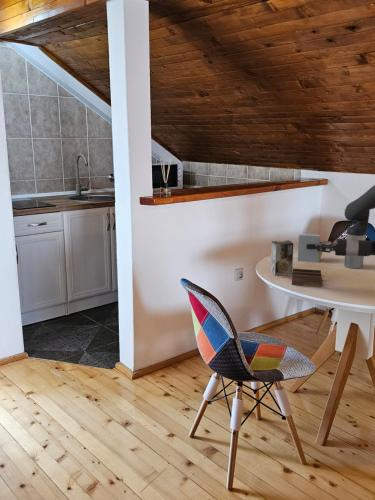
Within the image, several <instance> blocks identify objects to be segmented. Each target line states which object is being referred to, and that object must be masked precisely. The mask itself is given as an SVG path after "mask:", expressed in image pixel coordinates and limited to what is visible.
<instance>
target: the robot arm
mask: <svg viewBox="0 0 375 500" xmlns="http://www.w3.org/2000/svg"><path fill="white" fill-rule="evenodd" d="M373 209H375V184H374V185H372V186H371V187H370V188H369V189H367V190H366V192H364V193H363V194H361V195H360V196H359V197H357V198H356V199H355V200H353V201H351V202H350V203H348V204H347V205H346V207H345V209H344V217H345V218H346V220H347V221H350V222H356V223H355V224H353V225H352V226H348V228H347V229H346V238H336V239H335V242H332V241H330V240H324V241H323V240H322V241H320V242H319V244H316V245H315V244H307V249H314V250H317V251H320V252H322V253H327V254H328V253H331V252H334V254H335V256H338V257H339V256H341V257H344V262H343V263H344V264H343V265H344V267H346V268H349V269H362V268H364V258H365V257H370V256H375V240H366V239H367V238H366V236H367V230H368V227H369V219H370V210H373Z"/></svg>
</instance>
